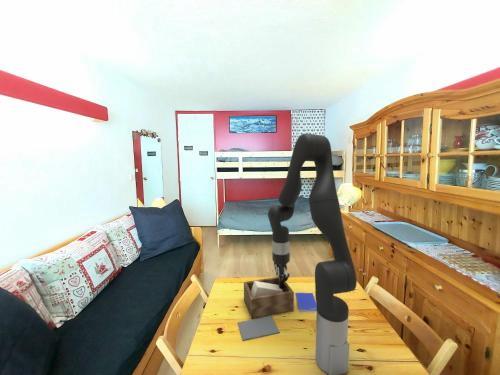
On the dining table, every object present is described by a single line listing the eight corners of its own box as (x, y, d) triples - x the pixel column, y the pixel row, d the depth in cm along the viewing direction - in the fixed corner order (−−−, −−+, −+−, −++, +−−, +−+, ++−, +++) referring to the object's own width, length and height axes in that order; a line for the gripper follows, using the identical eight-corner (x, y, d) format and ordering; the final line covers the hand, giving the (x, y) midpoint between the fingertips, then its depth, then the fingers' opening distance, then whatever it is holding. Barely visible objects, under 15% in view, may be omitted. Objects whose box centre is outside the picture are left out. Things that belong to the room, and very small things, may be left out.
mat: (279, 333, 85) (279, 331, 85) (242, 341, 81) (242, 339, 81) (271, 316, 93) (271, 315, 93) (237, 323, 90) (237, 322, 90)
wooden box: (251, 319, 92) (251, 299, 91) (244, 299, 105) (243, 282, 104) (293, 311, 97) (293, 292, 95) (281, 293, 109) (281, 276, 108)
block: (254, 298, 96) (257, 286, 96) (251, 291, 101) (254, 280, 100) (279, 301, 99) (282, 291, 99) (275, 295, 104) (278, 285, 104)
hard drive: (318, 310, 95) (313, 292, 108) (299, 309, 96) (295, 292, 108) (318, 313, 96) (312, 296, 108) (299, 313, 96) (295, 295, 108)
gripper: (295, 255, 94) (295, 294, 96) (283, 243, 106) (283, 278, 109) (278, 258, 92) (279, 297, 94) (267, 245, 105) (268, 281, 107)
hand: (281, 287), depth 101 cm, fingers closed
